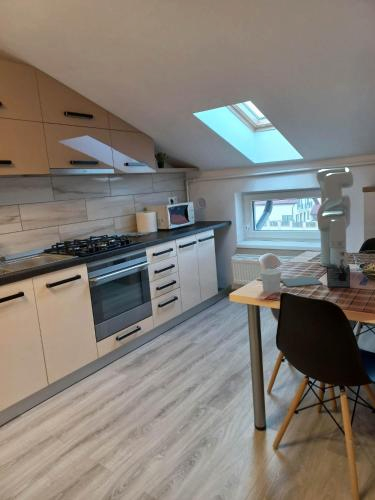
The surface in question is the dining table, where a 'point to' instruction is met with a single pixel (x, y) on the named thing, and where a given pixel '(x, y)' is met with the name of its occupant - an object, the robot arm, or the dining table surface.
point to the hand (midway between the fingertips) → (338, 278)
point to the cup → (271, 280)
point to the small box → (337, 277)
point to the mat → (301, 281)
